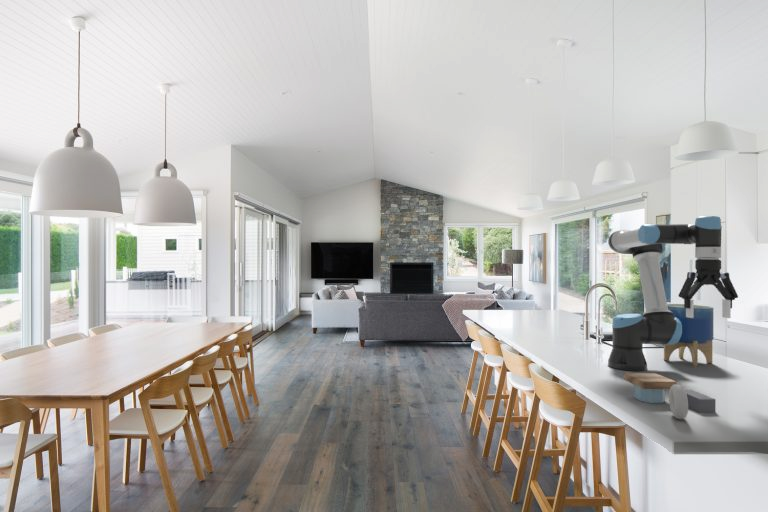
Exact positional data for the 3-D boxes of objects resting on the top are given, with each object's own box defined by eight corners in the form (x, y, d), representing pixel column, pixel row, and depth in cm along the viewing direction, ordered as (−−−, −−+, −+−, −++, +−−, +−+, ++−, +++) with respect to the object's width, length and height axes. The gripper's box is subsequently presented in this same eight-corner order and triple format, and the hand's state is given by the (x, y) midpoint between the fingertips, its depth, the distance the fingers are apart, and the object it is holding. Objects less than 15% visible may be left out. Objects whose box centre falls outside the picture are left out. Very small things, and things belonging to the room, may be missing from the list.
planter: (721, 368, 191) (721, 308, 191) (671, 365, 197) (671, 307, 197) (703, 359, 209) (703, 304, 210) (657, 356, 215) (658, 303, 215)
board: (624, 379, 153) (624, 373, 153) (654, 379, 153) (654, 373, 153) (643, 389, 142) (643, 381, 142) (676, 388, 142) (676, 381, 142)
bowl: (629, 395, 151) (629, 380, 152) (653, 395, 152) (653, 380, 152) (645, 403, 143) (645, 387, 143) (669, 403, 143) (669, 387, 143)
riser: (677, 401, 145) (677, 389, 145) (691, 401, 145) (691, 389, 145) (699, 412, 135) (699, 399, 135) (715, 412, 135) (715, 399, 135)
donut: (667, 412, 135) (667, 379, 135) (680, 413, 133) (680, 381, 133) (675, 423, 125) (675, 388, 125) (689, 425, 124) (689, 390, 124)
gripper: (681, 258, 153) (681, 318, 152) (750, 259, 153) (750, 319, 153) (667, 258, 160) (667, 316, 160) (732, 259, 161) (733, 316, 161)
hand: (708, 317), depth 157 cm, fingers open, 13 cm apart
